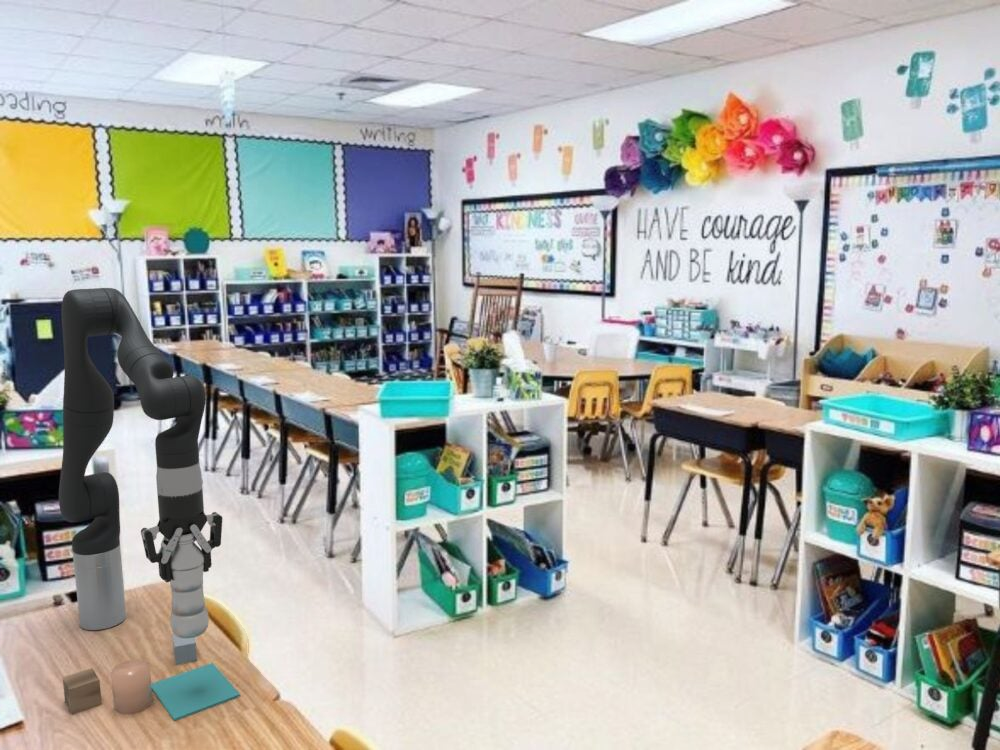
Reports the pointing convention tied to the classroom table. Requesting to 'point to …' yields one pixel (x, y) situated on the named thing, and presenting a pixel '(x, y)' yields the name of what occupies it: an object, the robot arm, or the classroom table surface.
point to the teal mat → (194, 691)
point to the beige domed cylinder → (131, 686)
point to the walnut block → (82, 691)
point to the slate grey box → (184, 649)
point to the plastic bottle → (187, 589)
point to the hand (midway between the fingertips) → (186, 575)
